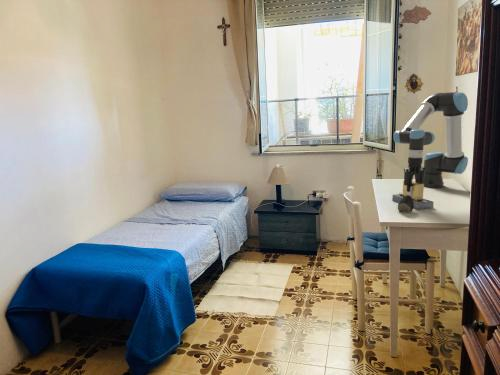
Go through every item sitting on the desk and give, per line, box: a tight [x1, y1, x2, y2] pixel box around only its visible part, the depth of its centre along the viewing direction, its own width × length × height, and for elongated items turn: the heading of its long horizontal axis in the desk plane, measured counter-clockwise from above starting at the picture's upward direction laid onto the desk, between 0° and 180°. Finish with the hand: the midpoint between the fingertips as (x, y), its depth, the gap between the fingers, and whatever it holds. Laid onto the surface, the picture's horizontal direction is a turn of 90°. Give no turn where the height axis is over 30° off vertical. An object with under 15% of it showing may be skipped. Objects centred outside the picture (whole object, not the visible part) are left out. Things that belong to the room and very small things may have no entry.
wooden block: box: [402, 180, 425, 200], centre depth 222 cm, size 4×12×9 cm, turn 19°
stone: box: [397, 195, 415, 213], centre depth 209 cm, size 8×7×10 cm
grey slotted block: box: [391, 192, 435, 211], centre depth 223 cm, size 10×22×4 cm, turn 19°
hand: (412, 196), depth 223 cm, fingers closed on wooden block, 4 cm apart
